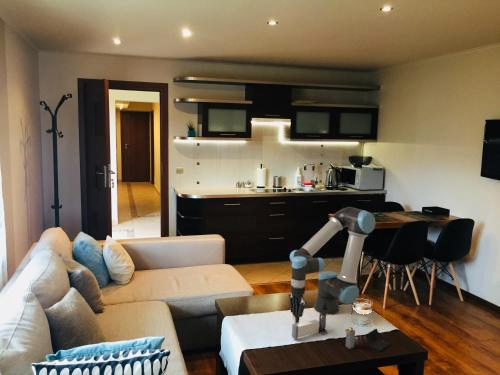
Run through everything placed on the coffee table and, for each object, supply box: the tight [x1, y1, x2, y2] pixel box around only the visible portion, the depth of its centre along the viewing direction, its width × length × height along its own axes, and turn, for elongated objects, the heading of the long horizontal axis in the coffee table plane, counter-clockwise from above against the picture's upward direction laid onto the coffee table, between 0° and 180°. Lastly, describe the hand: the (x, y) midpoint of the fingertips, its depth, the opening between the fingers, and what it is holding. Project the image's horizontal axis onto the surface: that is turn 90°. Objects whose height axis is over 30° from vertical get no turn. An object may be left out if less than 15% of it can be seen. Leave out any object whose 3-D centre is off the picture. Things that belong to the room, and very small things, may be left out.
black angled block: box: [364, 328, 392, 353], centre depth 214 cm, size 12×7×10 cm
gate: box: [291, 319, 319, 340], centre depth 219 cm, size 3×15×7 cm, turn 120°
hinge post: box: [316, 313, 328, 336], centre depth 224 cm, size 6×6×10 cm
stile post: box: [344, 326, 356, 349], centre depth 210 cm, size 3×4×10 cm
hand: (295, 326), depth 225 cm, fingers closed
